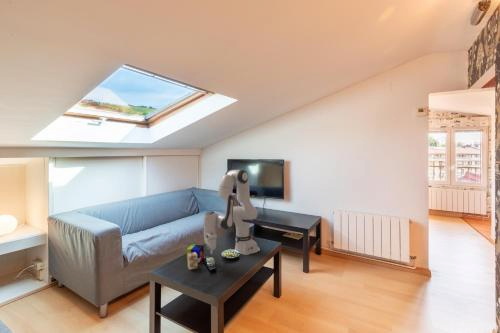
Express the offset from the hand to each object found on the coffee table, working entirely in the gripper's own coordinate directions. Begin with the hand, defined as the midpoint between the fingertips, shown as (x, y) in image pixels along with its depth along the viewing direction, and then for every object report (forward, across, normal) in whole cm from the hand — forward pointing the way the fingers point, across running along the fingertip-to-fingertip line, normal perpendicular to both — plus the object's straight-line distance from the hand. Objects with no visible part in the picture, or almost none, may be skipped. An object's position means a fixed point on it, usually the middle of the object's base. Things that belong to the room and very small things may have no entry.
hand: (209, 251), depth 191 cm
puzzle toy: (+11, -16, -7) cm, 20 cm away
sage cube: (+11, -1, +1) cm, 11 cm away
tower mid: (+6, -2, -12) cm, 14 cm away
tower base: (+11, -2, -12) cm, 17 cm away
